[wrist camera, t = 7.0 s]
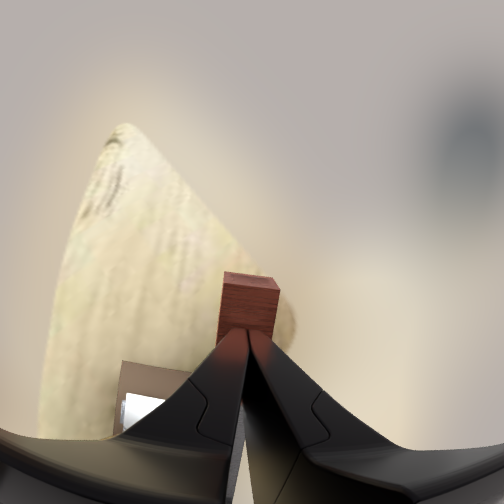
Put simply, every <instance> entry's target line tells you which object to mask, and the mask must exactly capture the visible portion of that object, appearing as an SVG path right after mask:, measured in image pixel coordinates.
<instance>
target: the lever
mask: <svg viewBox="0 0 504 504" xmlns="http://www.w3.org/2000/svg"><path fill="white" fill-rule="evenodd" d="M279 294H280V288H279V287H278V285H277V284H276V282H275V281H274V279H273V278H271V277H264V276H256V275H248V274H240V273H232V272H225V271H224V278H223V285H222V293H221V301H220V309H219V317H218V325H217V334H216V342H215V347H216V346H217V345H218V343H219V342H220V341H221V340H222V339H223V338H224V337H225V336H226V334H227V333H228V332H229V331H230V330H231V329H232V328H233V327H237V328H245V329H247V330H248V329H255V330H261V331H263V332H264V333H265V334H266V335H267V336H268V337H269V338H270V339H271V340H272V335H273V329H274V323H275V318H276V312H277V306H278V300H279ZM244 441H245V431H244V423H243V415H242V406H241V407H240V412H239V418H238V424H237V429H236V435H235V441H234V446H233V452H232V457H231V463H230V470H229V478H228V485H227V493H226V501H225V504H232V500H233V496H234V491H235V486H236V481H237V476H238V471H239V466H240V461H241V456H242V451H243V446H244Z"/></svg>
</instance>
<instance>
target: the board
mask: <svg viewBox="0 0 504 504" xmlns="http://www.w3.org/2000/svg"><path fill="white" fill-rule="evenodd" d="M190 375H191V372H184V371H177V370H171V369H165V368H159V367H153V366H148V365H143V364H137V363H132V362H127V361H123V360H122V366H121V372H120V379H119V386H118V394H117V402H116V410H115V419H114V429H113V435H116V434H119V433H122V432H123V424H121V423H120V416H121V407H122V400H126V398H127V393H131V394H139V395H144V396H149V397H154V398H160V399H165V400H166V399H167V398H168V397H169V396H170V395H171V394H172V393H173V392H174V391H175V390H176V389H178V388H179V386H180V385H181V384H182V383H183V382H184V381H185V380H187V378H188V377H189V376H190Z"/></svg>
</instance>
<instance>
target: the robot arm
mask: <svg viewBox="0 0 504 504" xmlns="http://www.w3.org/2000/svg"><path fill="white" fill-rule="evenodd" d="M241 406H242V415H243V423H244V431H245V440H246V447H247V455H248V463H249V470H250V478H251V486H252V493H253V499H254V504H504V443H503V444H499V445H494V446H488V447H481V448H471V449H456V450H427V451H416V450H410V449H406V448H402V447H400V446H398V445H396V444H394V443H393V442H391V441H389V440H388V439H386V438H385V437H384V436H382V435H380V434H379V433H378V432H376V431H375V430H373V429H372V428H371V427H369V426H368V425H366V424H365V423H363V422H362V421H361V420H359V419H358V418H357V417H355V416H354V415H353V414H351V413H350V412H349V411H347V410H346V409H345V408H344V407H342V406H341V405H340V404H339V403H338V402H336V401H335V400H334V399H333V398H332V397H331V396H330V395H329V394H328V393H326V392H325V391H323V389H322V388H321V387H320V386H319V385H318V384H317V383H316V382H315V381H313V380H312V379H311V378H310V377H309V376H308V375H307V374H306V373H305V372H304V371H303V370H302V369H301V368H300V367H299V366H298V365H297V364H296V363H295V362H293V361H292V360H291V359H290V358H289V357H288V356H287V355H286V354H285V353H284V352H283V351H282V350H281V349H280V348H279V347H278V346H277V345H276V344H275V343H274V342H273V341H272V340H271V339H270V338H269V337H268V336H267V335H266V334H265V333H264V332H263V331H261V330H255V329H248V330H247V329H245V328H237V327H233V328H232V329H231V330H230V331H229V332H228V333H227V334H226V336H225V337H224V338H223V339H222V340H221V341H220V342H219V343H218V345H217V346H216V347H215V348H214V349H213V350H212V351H211V352H210V354H209V355H208V356H207V357H206V358H205V359H204V360H203V361H202V362H201V364H200V365H199V366H198V367H197V368H196V369H195V370H194V371H193V372H192V373H191V375H190V376H189V377H188V378H187V380H185V381H184V382H183V383H182V384H181V385H180V386H179V388H178V389H176V390H175V391H174V392H173V393H172V394H171V395H170V396H169V397H168V398H167V399H166V400H165V401H163V402H162V403H161V404H160V405H158V406H157V407H156V408H155V409H153V410H152V411H151V412H149V413H148V414H147V415H145V416H144V417H143V418H141V419H140V420H139V421H137V422H136V423H135V424H133V425H132V426H130V427H129V428H128V429H126V430H125V431H123V432H122V433H120V434H118V435H117V436H115V437H112V438H109V439H105V440H53V439H38V438H31V437H25V436H20V435H17V434H14V433H11V432H8V431H6V430H3V429H1V428H0V504H225V501H226V493H227V485H228V478H229V470H230V463H231V457H232V452H233V446H234V441H235V435H236V429H237V424H238V418H239V412H240V407H241Z"/></svg>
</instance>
